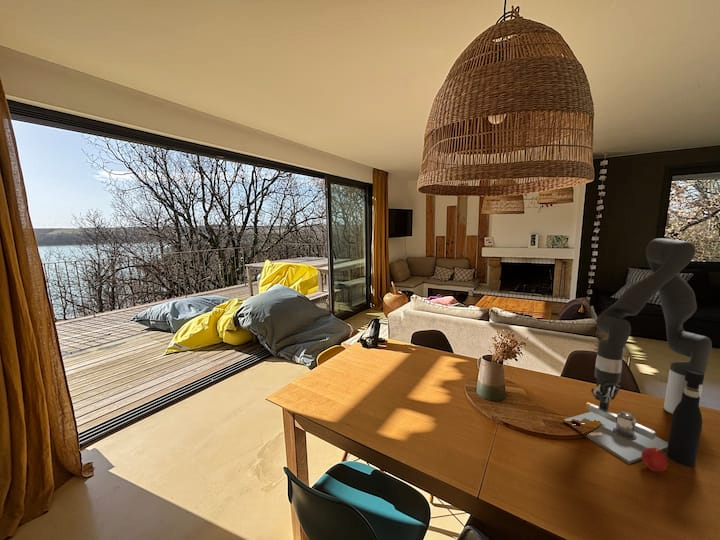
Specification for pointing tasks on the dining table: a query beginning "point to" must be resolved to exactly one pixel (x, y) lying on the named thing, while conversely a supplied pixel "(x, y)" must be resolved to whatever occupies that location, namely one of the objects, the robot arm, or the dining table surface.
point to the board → (619, 439)
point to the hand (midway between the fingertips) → (603, 410)
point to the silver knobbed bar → (622, 422)
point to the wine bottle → (686, 422)
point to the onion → (654, 459)
